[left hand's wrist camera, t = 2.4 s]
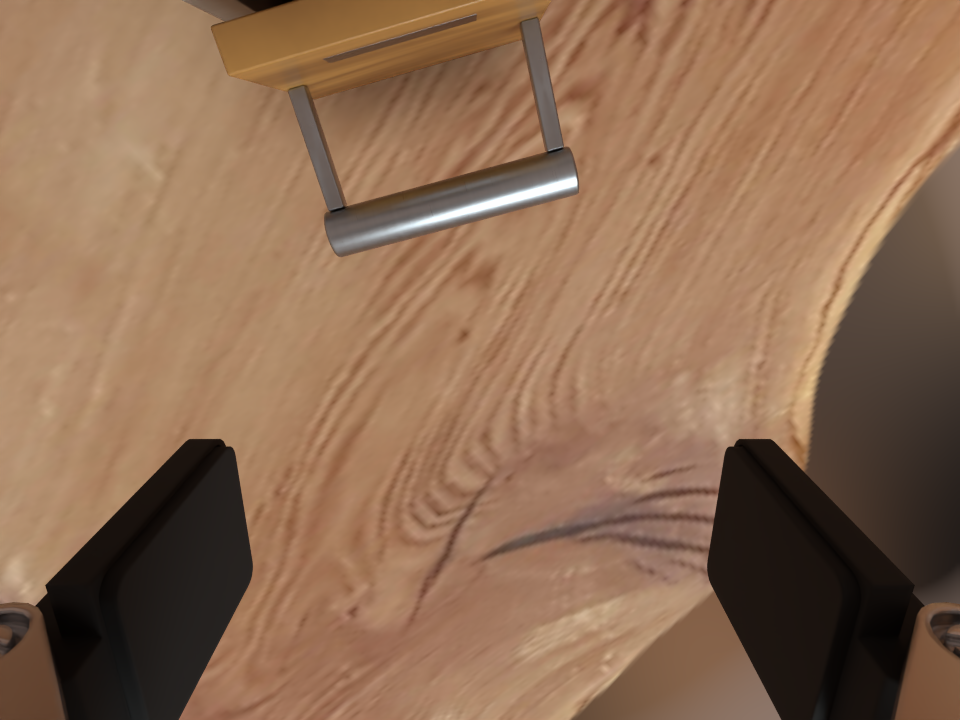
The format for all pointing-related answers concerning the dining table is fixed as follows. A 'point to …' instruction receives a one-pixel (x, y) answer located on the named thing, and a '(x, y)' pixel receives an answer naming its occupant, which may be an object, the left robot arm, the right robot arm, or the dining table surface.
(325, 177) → the drawer
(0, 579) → the dining table surface
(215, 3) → the cabinet
